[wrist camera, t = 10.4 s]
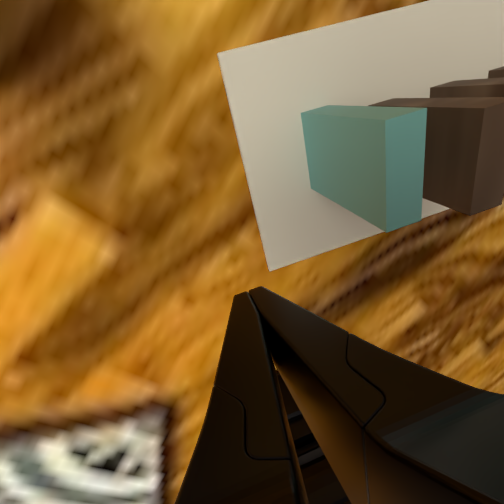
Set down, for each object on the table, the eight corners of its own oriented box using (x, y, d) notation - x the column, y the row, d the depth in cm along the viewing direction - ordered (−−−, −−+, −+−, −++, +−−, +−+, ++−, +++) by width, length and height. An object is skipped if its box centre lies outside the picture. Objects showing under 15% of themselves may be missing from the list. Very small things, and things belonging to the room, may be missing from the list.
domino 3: (393, 98, 20) (521, 97, 13) (393, 171, 22) (501, 204, 15) (368, 105, 19) (484, 108, 12) (370, 178, 22) (469, 215, 15)
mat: (570, 164, 27) (574, 165, 26) (268, 269, 23) (269, 271, 23) (631, -50, 20) (637, -52, 19) (216, 53, 16) (217, 52, 16)
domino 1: (327, 105, 19) (427, 107, 12) (335, 180, 21) (421, 220, 14) (300, 112, 18) (385, 120, 11) (310, 188, 21) (386, 232, 14)
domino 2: (454, 80, 20) (608, 70, 13) (447, 153, 22) (576, 177, 15) (430, 87, 20) (574, 80, 13) (426, 160, 22) (546, 188, 15)
